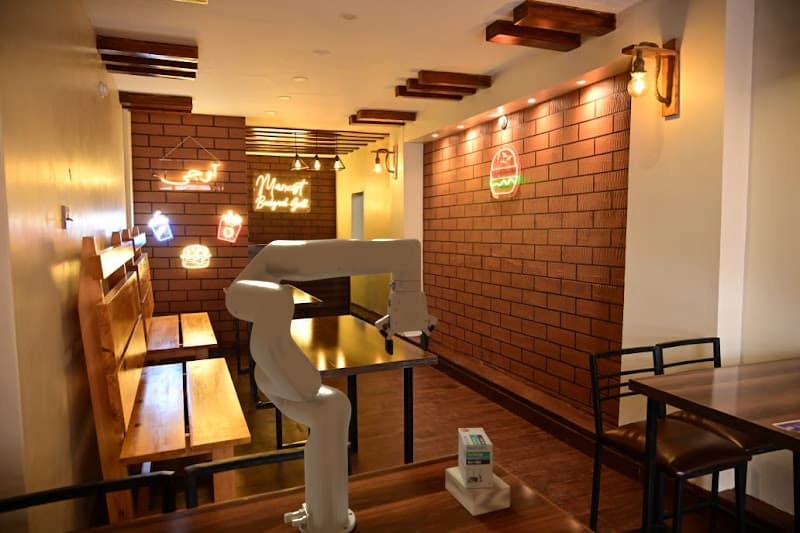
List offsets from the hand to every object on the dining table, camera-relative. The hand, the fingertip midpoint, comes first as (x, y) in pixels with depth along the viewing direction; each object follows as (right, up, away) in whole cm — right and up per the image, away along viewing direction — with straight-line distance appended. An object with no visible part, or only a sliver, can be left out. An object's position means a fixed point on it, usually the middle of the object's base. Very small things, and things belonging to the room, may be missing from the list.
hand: (407, 352), depth 135 cm
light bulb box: (+17, -30, -7) cm, 35 cm away
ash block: (+17, -35, -6) cm, 39 cm away
